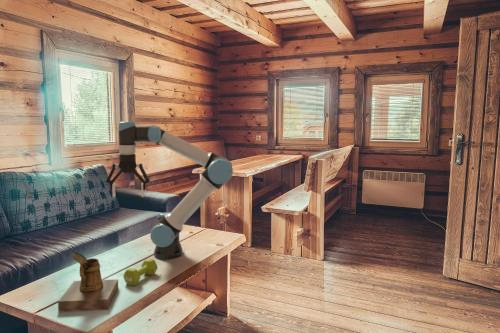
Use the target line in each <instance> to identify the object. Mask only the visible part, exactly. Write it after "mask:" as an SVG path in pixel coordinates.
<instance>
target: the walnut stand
mask: <svg viewBox="0 0 500 333" xmlns="http://www.w3.org/2000/svg"><path fill="white" fill-rule="evenodd" d="M102 281H103V287H102V288H101V289H99V290H97V291H93V292H83V291H81V290H80V289H79V288H80V283H81V280H74V281H73V282H72V283H71V284H70V285H69V287H68V288H67V289H66V291H65V292H64V293H63V294H62V295H61V297H60V298H59V299H58V300H57V306H58V307H57V309H58V312H59V313H60V312H75V311H97V310H98V311H99V310H109V307H110V306H111V304H112V302H113V300H114V298H115V296H116V294H117V292H118V289H119V279H102Z"/></svg>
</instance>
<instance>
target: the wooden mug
mask: <svg viewBox="0 0 500 333" xmlns="http://www.w3.org/2000/svg"><path fill="white" fill-rule="evenodd" d="M71 258H72V259H73V260H74V261H75V262H77V263H78V264H79V265H80V266H79V277H80V281H81V283H80V288H79V289H80V290H81V291H83V292H93V291H97V290H99V289H101V288H102V287H103V281H102V280H103V279H102V274H101V264H100V261H99V259H97V258H93V257H92V258H86V257H85V255H83V254H81V253H78V252H75V251H74V252H72V253H71Z"/></svg>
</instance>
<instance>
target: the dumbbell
mask: <svg viewBox="0 0 500 333" xmlns="http://www.w3.org/2000/svg"><path fill="white" fill-rule="evenodd" d="M157 270H158V264H157V262H156V261H155V259H153V258H146V259H145V260H144V261H143V262H142V264H141V267H140V268H138V269H137V268H132V267H131V268H130V267H129V268H127V269H126V270H125V271H124V273H123V279H124V282H125V283H126V285H127V286H131V287H132V286H133V287H134V286H137V284H138V283H139V282H140V280H141V277H142V276H143V275H149V276H153V275H154V274H156V272H157Z"/></svg>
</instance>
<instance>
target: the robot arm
mask: <svg viewBox="0 0 500 333" xmlns="http://www.w3.org/2000/svg"><path fill="white" fill-rule="evenodd" d="M137 142H140V143H141V142H147V143H150V142H151V143H155V144H158V145H160V146H163V147H164V148H166V149H169V150H170V151H172V152H174V153H176V154H178V155H180V156H182V157H184V158H186V159H188V160H191V161H192V162H194V163H197V164H198V165H200V166H202V168H203V169H204V171H202V172H201V178H200V180H198V182H197V183H196V184H195V185H194V186H193V187H192V188H191V190H190V191H188V193H187V194H186V195H185V196H184V197H183V198H182V199H181V201H180V202H179V203H178V204H177V205H176V206H175V207H174V208H173V210H171V212H160V213H157V215H156V223H155V224H154V225H153V227H152V228H151V230H150V235H149V236H150V240H151V242H152V244H154V245H155V247H154V251H153V256H154V258H155V259H158V260H174V259H178V258H180V257H182V256H183V252H184V250H183V247H182V244H181V241H180V233H181V232H182V231H183V229H184V226H183V225H184V224H185V223H186V222H187V221H188V220H189V219H190V217H191V216H193V214H194V213H196V211H197V210H198V209H199V208H200V207H201V206H202V204H203V203H204V202H205V201H206V200H207V199H208V197H209V196H210V195H211V194H213V192H214V191H216V190H217V191H219V190H220V189H221V188H222V187H223V186H224V184H226V183H227V182H229V181H230V179H231V178H232V177H233V173H234V169H233V165H232V161H230V160H229V159H228V158H227V157H225V156H222V155H220V154H217V153H214V152H212V151H210V152H208V151H206V150H204V149H202V148H201V147H198V146H197V145H194V144H192V143H190V142H188V141H186V140H185V139H182V138H180V137H178V136H177V135H174V134H173V133H170V132H168V131H166V130H164V129H162V128H160V126H158V125H145V126H144V125H142V126H141V125H136V123H135V121H120V122H119V123H118V152H119V157H118V159H119V164H118V163H112V166H111V170H110V173H108V176H107V179H106V180H105V183H108V184H109V188H110V191H112V198H115V197H116V195H117V194H116V183H115V181H116V180H117V179H118V178H119V177H120V176H121V175H122V173H124V174H127V173H128V174H132V173H133V174H134V175H135V177H137V179H138V180H139V181H141V184H140V186H141V187H140V188H141V190H140V191H141V198H144V197H145V191H146V189H147V183H149V182H150V178H149V177H148V175H147V172H146V171H145V169H144V166H143V163H142V162H141V163H137V162H136V161H137V157H136V154H135V153H136V143H137ZM117 168H119V169H120V170H119V171H118V172H117V173H116V174H115V172H116V169H117ZM136 168H138V169H139V170H140V172H141V174H142V175H141V174H140V173H139V172H138V171H137V169H136ZM114 174H115V176H114V177H113V175H114ZM112 177H113V178H112Z"/></svg>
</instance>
